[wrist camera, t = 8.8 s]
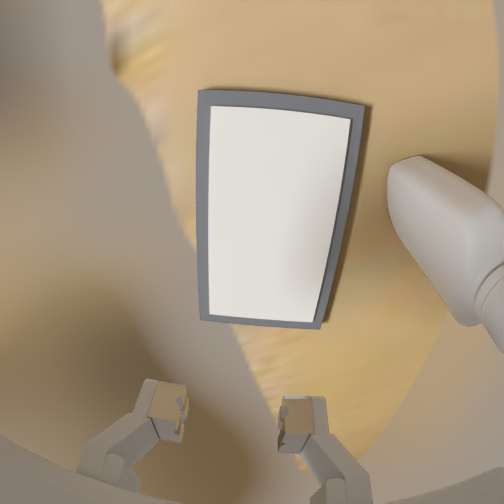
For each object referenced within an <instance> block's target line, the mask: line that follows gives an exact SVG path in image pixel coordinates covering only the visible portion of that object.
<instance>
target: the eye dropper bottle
mask: <svg viewBox="0 0 504 504" xmlns="http://www.w3.org/2000/svg"><path fill="white" fill-rule="evenodd" d="M387 204H388V210H389V214H390V218H391V221H392V224H393V226H394V229H395V231H396V233H397V235H398V237H399V238H400V240H401V242H402V243H403V244H404V246H405V247H406V248H407V250H408V251H409V253H410V254H411V255H412V257H413V258H414V259H415V261H416V262H417V264H418V265H419V266H420V268H421V269H422V271H423V272H424V274H425V275H426V277H427V278H428V279H429V281H430V282H431V284H432V285H433V287H434V288H435V290H436V291H437V293H438V294H439V296H440V297H441V299H442V300H443V302H444V303H445V305H446V306H447V308H448V309H449V311H450V312H451V314H452V315H453V317H454V318H455V319H456V320H457V321H458V323H459V324H461V325H463V326H467V327H470V326H475V325H477V324H480V323H482V324H483V325H484V327H485V328H486V330H487V331H488V333H489V335H490V336H491V338H492V339H493V341H494V343H495V344H496V346H497V348H498V349H499V351H500V352H502V353H504V211H503V209H502V208H501V206H500V205H499V204H498V203H497V202H496V201H495V200H494V199H493V198H491V197H490V196H488V195H487V194H486V193H484V192H483V191H481V190H480V189H478V188H477V187H475V186H474V185H472V184H470V183H469V182H467V181H466V180H464V179H462V178H460V177H459V176H457V175H455V174H454V173H452V172H450V171H448V170H447V169H445V168H443V167H441V166H439V165H437V164H436V163H434V162H432V161H430V160H428V159H426V158H424V157H422V156H414V157H411V158H408V159H405V160H402V161H399V162H396V163H395V164H393V165H392V166H391V167H390V169H389V171H388V177H387Z"/></svg>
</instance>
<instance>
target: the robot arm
mask: <svg viewBox="0 0 504 504" xmlns="http://www.w3.org/2000/svg"><path fill="white" fill-rule="evenodd" d="M186 392H187V389H186V386H184V385H178V384H172V383H166V382H161V381H157V380H151V379H146V380H145V381H144V383H143V386H142V388H141V391H140V394H139V397H138V400H137V402H136V405H135V408H134V411H133V413H128V414H127V415H125V416H124V417H122V418H121V419H120V420H118V421H117V422H116V423H114V424H113V425H111V426H110V427H109V428H107V429H106V430H105V431H103V432H102V433H100V434H99V435H98V436H96V437H95V438H93V439H92V440H90V441H89V442H88V443H86V445H85V448H84V451H83V453H82V456H81V459H80V461H79V464H78V467H77V469H76V472H75V471H72V470H70V469H68V468H65V467H63V466H61V465H59V464H56V463H54V462H52V461H50V460H48V459H46V458H44V457H42V456H40V455H38V454H36V453H34V452H32V451H30V450H29V449H27V448H25V447H23V446H21V445H20V444H18V443H16V442H14V441H13V440H11V439H9V438H8V437H6V436H4V435H3V434H1V433H0V504H183V503H177V502H172V501H168V500H163V499H159V498H155V497H150V496H146V495H142V494H139V493H137V492H138V487H139V484H140V478H139V477H138V475H137V474H136V473H135V472H134V471H133V469H132V468H131V467H132V466H133V465H134V464H135V463H136V462H137V461H138V460H139V459H140V458H142V457H143V456H144V455H145V454H146V453H147V452H148V451H149V450H150V449H151V448H152V447H153V446H154V445H155V444H156V443H157V442H158V441H159V439H162V440H168V441H173V442H180V443H181V441H182V436H183V431H184V425H183V421H184V420H186V418H187V414H188V406H189V404H188V397H187V396H186ZM278 429H279V430H280V433H279V436H278V453H292V454H300V456H301V458H302V459H303V461H304V462H305V464H306V465H307V467H308V468H309V470H310V471H311V472H312V474H313V475H314V477H315V478H316V480H317V481H318V483H319V484H320V485H321V488H320V489H319V490H318V491H317V492H316V493H314V495H312V496H311V497H310V504H373V500H372V492H371V484H370V476H369V474H368V473H367V471H366V470H365V469H364V468H363V467H362V466H361V465H360V464H359V463H358V462H357V460H356V459H355V458H354V457H353V456H352V455H351V454H350V452H349V451H348V450H347V449H346V448H345V447H344V446H343V445H342V443H341V442H340V441H339V440H338V439H337V438H336V436H335V435H334V434H329V424H328V416H327V407H326V399H325V397H324V396H287V395H284V396H283V399H282V406H280V410H279V415H278ZM382 504H504V468H503V467H496V468H493V469H491V470H489V471H486V472H484V473H482V474H479V475H477V476H474V477H472V478H469V479H467V480H464V481H461V482H459V483H456V484H453V485H450V486H447V487H444V488H441V489H438V490H435V491H431V492H428V493H424V494H421V495H417V496H413V497H409V498H405V499H401V500H396V501H392V502H387V503H382Z"/></svg>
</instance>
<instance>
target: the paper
mask: <svg viewBox="0 0 504 504" xmlns="http://www.w3.org/2000/svg"><path fill="white" fill-rule="evenodd" d="M349 127H350V119H346V118H340V117H334V116H327V115H320V114H313V113H305V112H297V111H287V110H277V109H265V108H250V107H229V106H211V118H210V146H209V194H208V264H209V313H210V314H213V315H222V316H233V317H244V318H255V319H268V320H282V321H297V322H313V318H314V314H315V310H316V306H317V302H318V298H319V293H320V289H321V285H322V280H323V276H324V271H325V267H326V262H327V257H328V253H329V248H330V243H331V238H332V233H333V228H334V222H335V217H336V212H337V206H338V200H339V195H340V189H341V183H342V176H343V170H344V163H345V157H346V150H347V143H348V135H349Z"/></svg>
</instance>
